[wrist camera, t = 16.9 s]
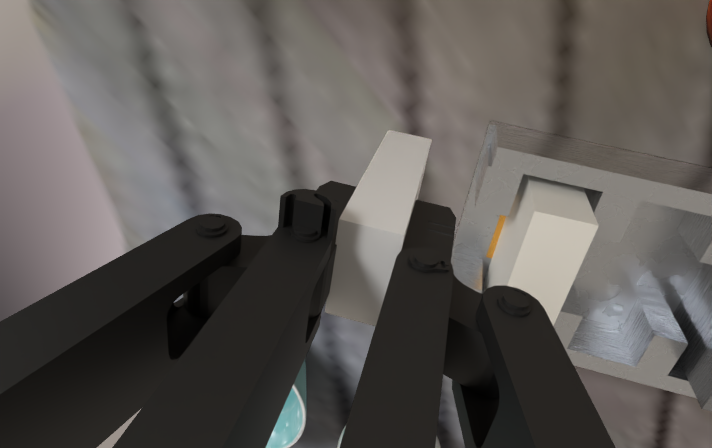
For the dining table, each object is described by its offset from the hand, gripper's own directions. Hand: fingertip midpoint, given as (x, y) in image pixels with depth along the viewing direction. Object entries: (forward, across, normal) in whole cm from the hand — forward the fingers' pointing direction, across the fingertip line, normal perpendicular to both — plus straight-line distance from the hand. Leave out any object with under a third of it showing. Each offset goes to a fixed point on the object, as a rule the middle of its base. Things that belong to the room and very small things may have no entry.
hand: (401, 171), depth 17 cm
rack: (+24, +18, -13) cm, 33 cm away
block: (+23, +10, -13) cm, 28 cm away
